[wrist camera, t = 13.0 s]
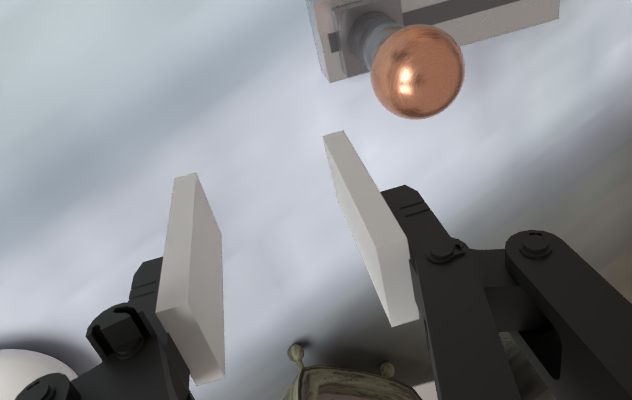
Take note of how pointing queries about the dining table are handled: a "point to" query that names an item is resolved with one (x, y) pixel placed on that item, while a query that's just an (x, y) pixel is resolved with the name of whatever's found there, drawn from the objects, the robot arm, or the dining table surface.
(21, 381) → the flower in vase
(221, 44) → the dining table surface
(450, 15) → the lever track
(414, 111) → the lever handle
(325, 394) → the tabletop clock
